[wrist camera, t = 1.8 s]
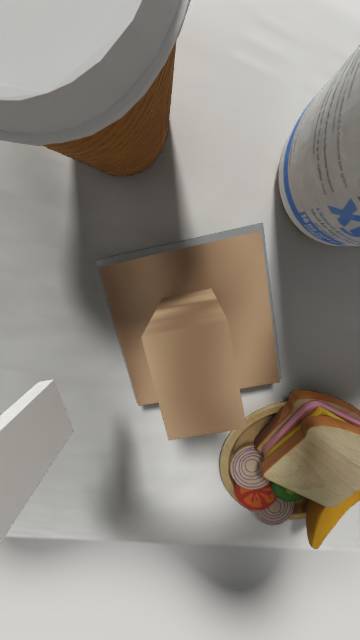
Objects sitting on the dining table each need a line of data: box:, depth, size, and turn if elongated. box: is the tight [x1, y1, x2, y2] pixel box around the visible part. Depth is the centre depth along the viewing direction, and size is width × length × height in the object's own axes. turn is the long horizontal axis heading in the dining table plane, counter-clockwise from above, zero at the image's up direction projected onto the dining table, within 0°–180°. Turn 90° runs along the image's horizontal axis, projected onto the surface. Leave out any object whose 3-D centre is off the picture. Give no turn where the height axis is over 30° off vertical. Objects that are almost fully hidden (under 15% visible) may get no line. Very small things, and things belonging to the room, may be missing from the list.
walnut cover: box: [98, 231, 280, 440], centre depth 15 cm, size 11×11×9 cm
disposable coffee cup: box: [0, 0, 190, 176], centre depth 11 cm, size 10×10×12 cm
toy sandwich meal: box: [220, 390, 360, 549], centre depth 21 cm, size 12×14×5 cm
